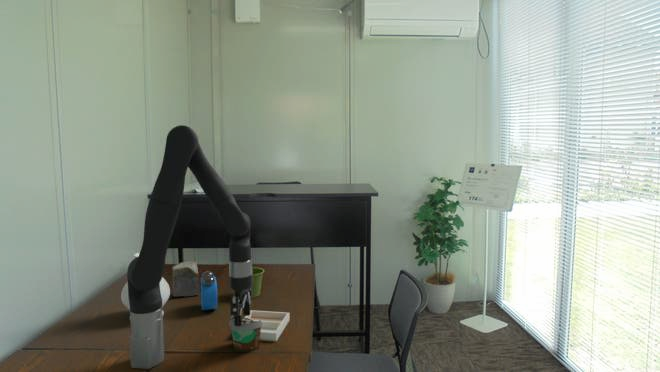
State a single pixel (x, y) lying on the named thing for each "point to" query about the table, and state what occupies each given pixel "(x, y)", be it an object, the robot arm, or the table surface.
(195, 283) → the geological specimen
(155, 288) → the robot arm
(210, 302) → the alarm clock
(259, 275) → the plant pot
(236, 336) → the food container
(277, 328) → the tray
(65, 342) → the table surface
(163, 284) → the decorative vase
